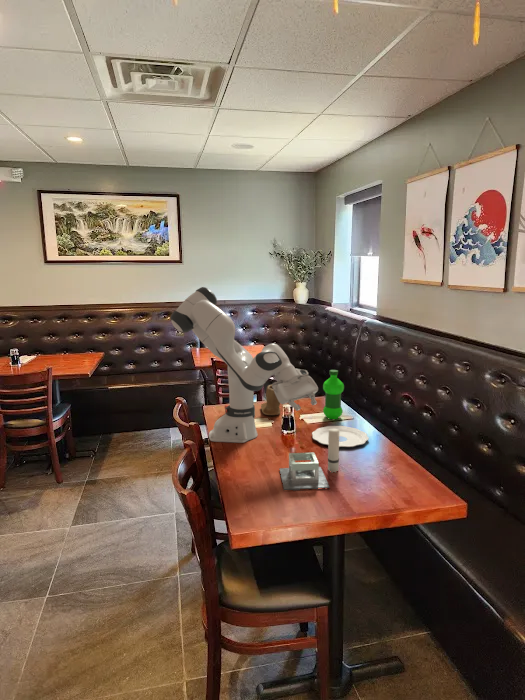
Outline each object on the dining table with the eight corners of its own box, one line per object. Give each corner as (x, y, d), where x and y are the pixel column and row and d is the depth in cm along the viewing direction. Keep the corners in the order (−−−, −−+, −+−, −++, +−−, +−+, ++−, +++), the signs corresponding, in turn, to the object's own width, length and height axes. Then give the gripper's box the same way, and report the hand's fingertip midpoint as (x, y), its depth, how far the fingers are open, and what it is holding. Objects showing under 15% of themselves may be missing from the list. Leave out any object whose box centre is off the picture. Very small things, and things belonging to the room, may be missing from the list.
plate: (333, 454, 184) (333, 450, 184) (301, 435, 206) (301, 431, 206) (380, 443, 196) (380, 439, 195) (344, 426, 218) (344, 422, 217)
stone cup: (285, 416, 231) (285, 388, 229) (262, 417, 231) (262, 389, 228) (282, 407, 246) (282, 381, 244) (260, 408, 246) (260, 382, 243)
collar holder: (284, 490, 154) (284, 468, 153) (279, 470, 170) (279, 449, 169) (329, 489, 155) (330, 466, 154) (320, 468, 171) (321, 448, 170)
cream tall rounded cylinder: (328, 472, 168) (329, 432, 165) (326, 467, 172) (327, 428, 169) (339, 472, 168) (340, 432, 165) (337, 467, 172) (338, 428, 169)
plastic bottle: (330, 413, 236) (331, 367, 231) (346, 418, 228) (348, 370, 224) (318, 417, 229) (319, 370, 225) (334, 422, 222) (335, 374, 217)
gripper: (273, 378, 170) (292, 408, 165) (309, 369, 183) (328, 397, 178) (266, 387, 174) (284, 417, 169) (301, 378, 188) (319, 405, 182)
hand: (307, 406), depth 174 cm, fingers open, 8 cm apart
